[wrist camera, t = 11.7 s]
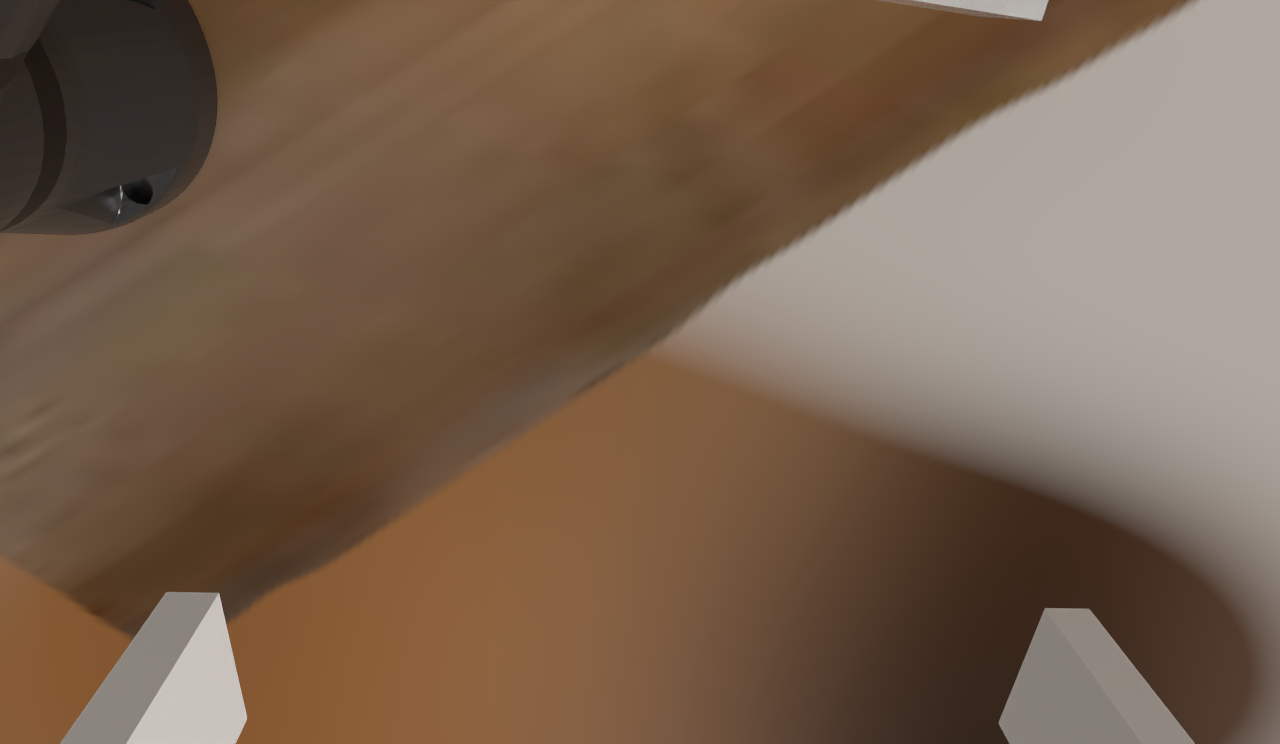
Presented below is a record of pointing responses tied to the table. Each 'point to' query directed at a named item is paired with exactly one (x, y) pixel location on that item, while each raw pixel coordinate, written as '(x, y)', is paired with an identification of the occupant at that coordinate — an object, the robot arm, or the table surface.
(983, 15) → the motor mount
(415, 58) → the table surface
